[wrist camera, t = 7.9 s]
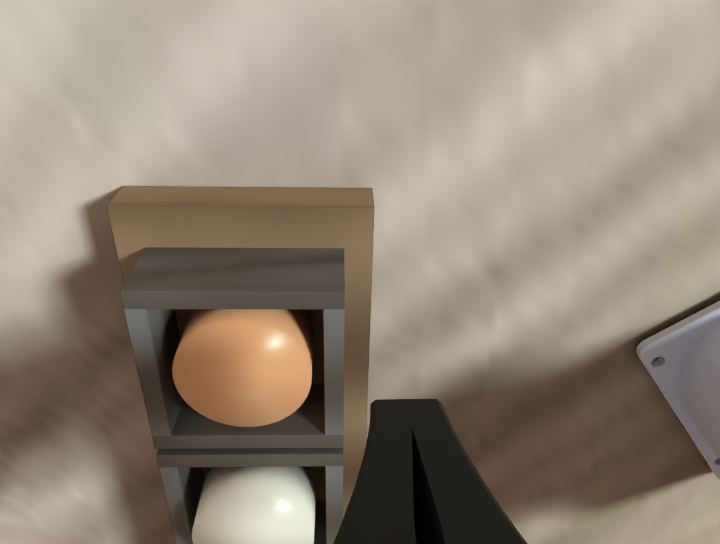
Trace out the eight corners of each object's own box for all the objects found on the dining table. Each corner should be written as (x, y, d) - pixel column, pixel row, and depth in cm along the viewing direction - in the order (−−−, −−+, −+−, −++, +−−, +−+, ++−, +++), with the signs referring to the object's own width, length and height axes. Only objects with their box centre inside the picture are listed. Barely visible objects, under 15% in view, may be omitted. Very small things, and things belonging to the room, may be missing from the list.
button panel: (122, 186, 19) (75, 246, 16) (372, 188, 19) (379, 248, 16) (202, 586, 31) (184, 671, 27) (358, 583, 31) (361, 667, 27)
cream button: (338, 496, 23) (338, 544, 21) (255, 540, 24) (249, 588, 22) (264, 435, 21) (258, 481, 19) (179, 485, 22) (165, 533, 20)
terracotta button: (339, 345, 20) (339, 385, 19) (246, 402, 21) (238, 445, 20) (255, 260, 18) (246, 296, 17) (159, 328, 20) (142, 368, 18)
